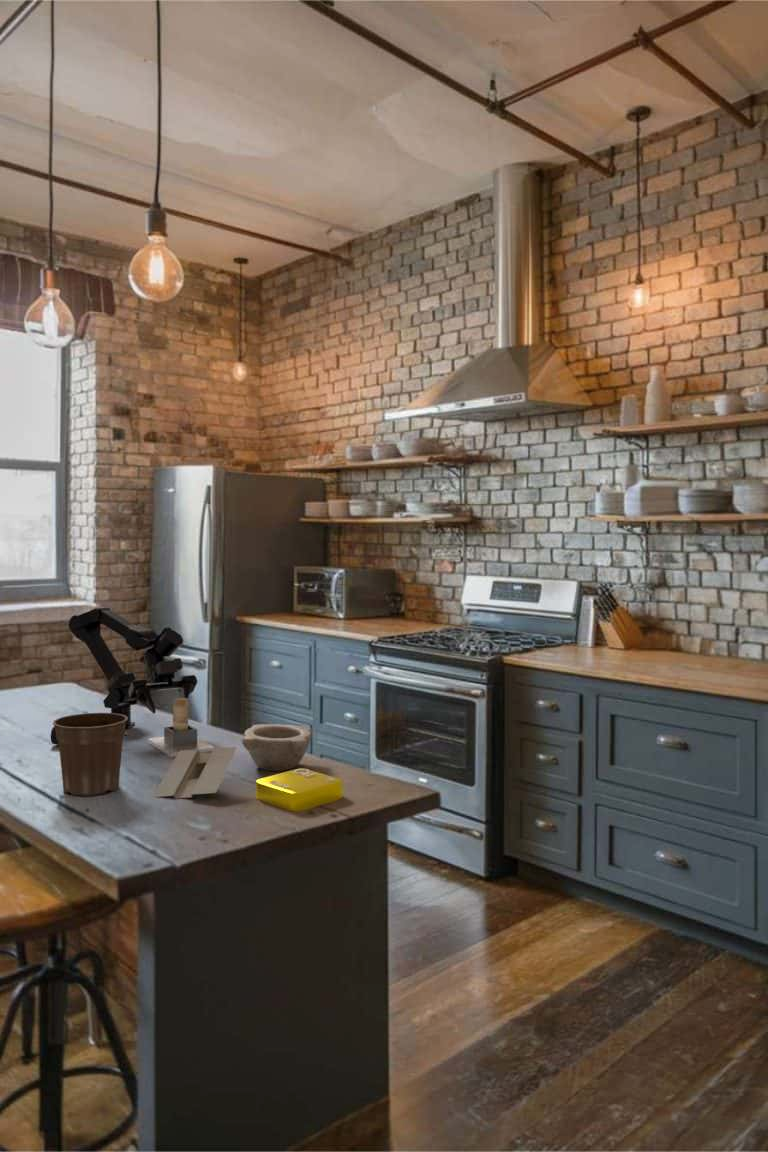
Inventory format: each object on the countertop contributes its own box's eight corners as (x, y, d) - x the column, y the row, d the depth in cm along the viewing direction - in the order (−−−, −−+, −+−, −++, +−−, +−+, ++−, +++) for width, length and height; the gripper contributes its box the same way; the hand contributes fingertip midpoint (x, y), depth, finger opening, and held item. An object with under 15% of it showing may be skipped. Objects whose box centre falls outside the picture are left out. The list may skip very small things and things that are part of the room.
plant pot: (53, 782, 203) (53, 714, 202) (125, 775, 209) (124, 709, 208) (53, 802, 188) (52, 729, 187) (130, 795, 194) (130, 724, 193)
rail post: (175, 740, 239) (175, 697, 238) (189, 741, 239) (189, 698, 238) (171, 744, 235) (171, 700, 234) (185, 744, 235) (185, 700, 234)
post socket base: (148, 743, 241) (148, 724, 241) (189, 737, 248) (189, 719, 247) (171, 757, 226) (171, 737, 226) (214, 751, 233) (214, 732, 233)
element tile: (251, 799, 194) (251, 778, 194) (301, 785, 205) (301, 765, 205) (296, 814, 184) (296, 792, 184) (346, 798, 195) (346, 777, 195)
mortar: (305, 777, 210) (305, 739, 210) (236, 774, 211) (236, 737, 211) (315, 759, 227) (316, 724, 226) (252, 756, 228) (252, 722, 228)
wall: (233, 814, 194) (248, 758, 205) (216, 792, 189) (233, 736, 199) (169, 817, 199) (187, 762, 210) (151, 797, 193) (171, 741, 204)
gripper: (131, 651, 241) (144, 697, 232) (195, 647, 251) (210, 691, 243) (122, 675, 248) (135, 720, 239) (185, 670, 258) (199, 713, 250)
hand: (170, 711), depth 243 cm, fingers open, 9 cm apart
